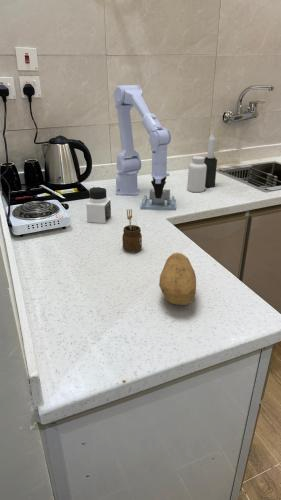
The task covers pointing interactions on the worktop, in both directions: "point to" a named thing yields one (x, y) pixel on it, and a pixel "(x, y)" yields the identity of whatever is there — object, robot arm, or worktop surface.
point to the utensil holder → (132, 236)
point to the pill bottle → (197, 174)
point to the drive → (159, 200)
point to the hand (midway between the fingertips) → (158, 196)
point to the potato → (178, 280)
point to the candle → (210, 163)
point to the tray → (148, 205)
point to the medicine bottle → (98, 206)
